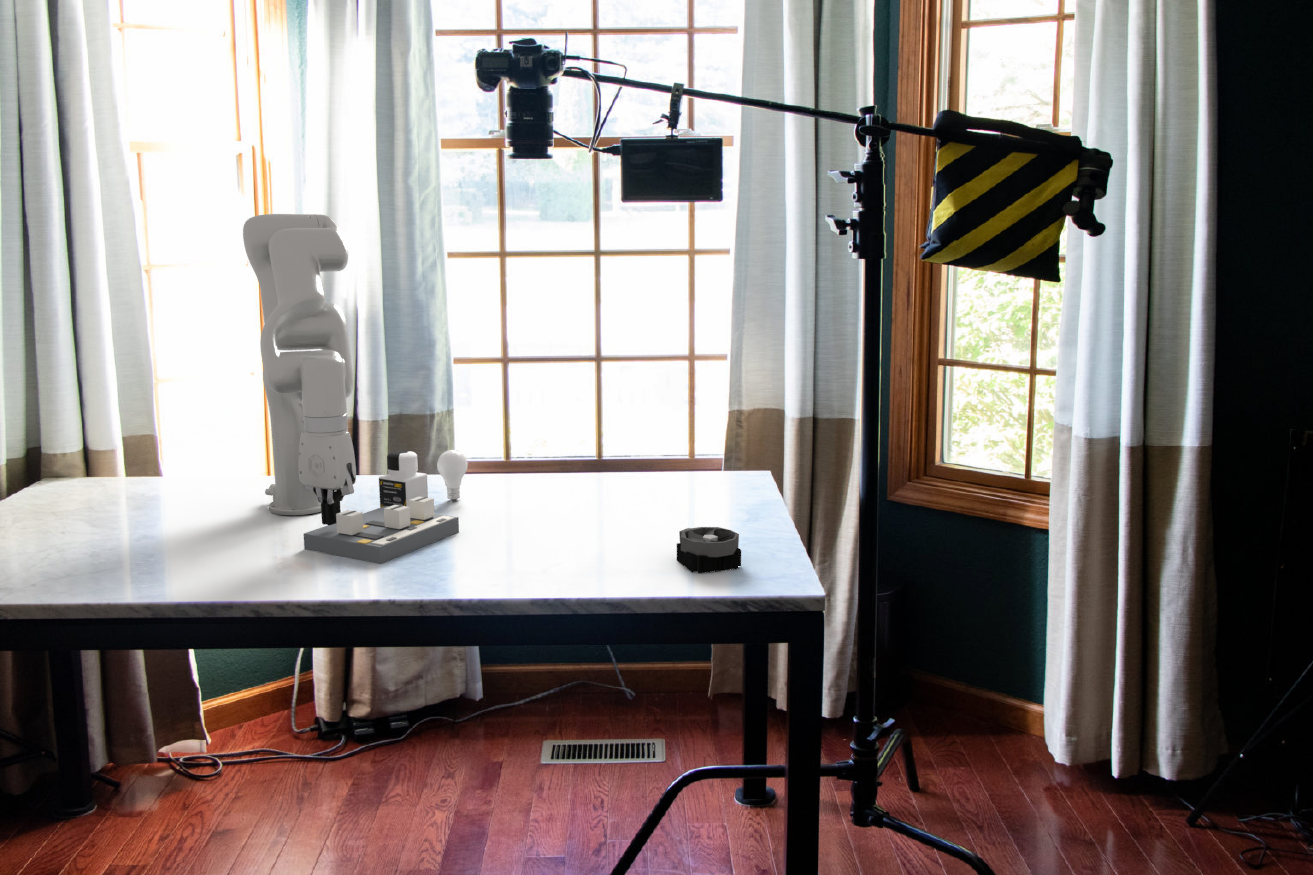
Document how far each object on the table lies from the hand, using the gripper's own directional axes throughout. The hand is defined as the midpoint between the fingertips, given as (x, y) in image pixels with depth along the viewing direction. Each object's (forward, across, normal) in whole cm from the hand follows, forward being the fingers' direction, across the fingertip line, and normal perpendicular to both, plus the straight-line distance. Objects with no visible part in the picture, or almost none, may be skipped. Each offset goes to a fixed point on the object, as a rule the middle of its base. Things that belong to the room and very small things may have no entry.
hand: (331, 522), depth 197 cm
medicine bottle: (+5, -6, +27) cm, 28 cm away
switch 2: (+1, +9, +7) cm, 12 cm away
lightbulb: (+4, -1, +37) cm, 37 cm away
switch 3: (+1, +9, +14) cm, 17 cm away
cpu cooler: (+5, +65, +23) cm, 69 cm away
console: (+4, +6, +7) cm, 10 cm away
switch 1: (+1, +4, 0) cm, 4 cm away
